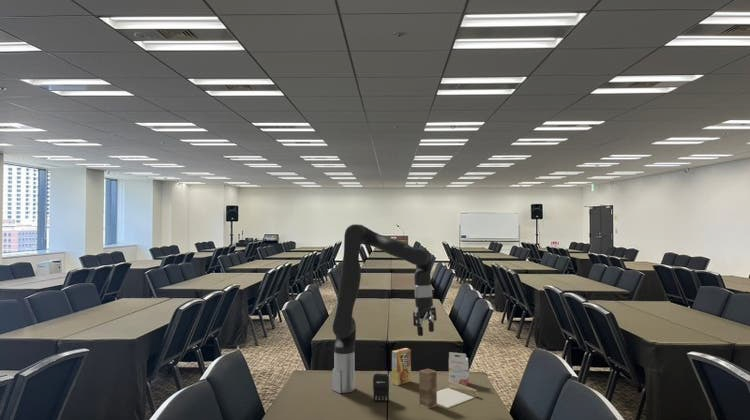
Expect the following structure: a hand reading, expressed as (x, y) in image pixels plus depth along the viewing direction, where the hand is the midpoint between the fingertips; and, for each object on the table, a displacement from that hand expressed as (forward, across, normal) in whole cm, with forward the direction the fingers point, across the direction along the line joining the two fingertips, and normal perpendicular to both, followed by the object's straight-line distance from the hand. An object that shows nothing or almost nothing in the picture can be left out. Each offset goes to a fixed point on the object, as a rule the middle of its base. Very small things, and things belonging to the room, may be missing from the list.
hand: (426, 333), depth 199 cm
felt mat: (+28, -7, +4) cm, 30 cm away
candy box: (+27, -11, -23) cm, 37 cm away
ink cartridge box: (+28, -27, -1) cm, 39 cm away
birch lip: (+29, -17, +6) cm, 34 cm away
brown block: (+28, +4, +2) cm, 29 cm away
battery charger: (+27, +13, -16) cm, 34 cm away
